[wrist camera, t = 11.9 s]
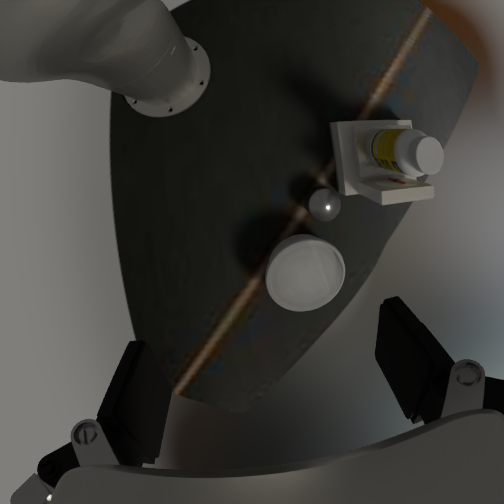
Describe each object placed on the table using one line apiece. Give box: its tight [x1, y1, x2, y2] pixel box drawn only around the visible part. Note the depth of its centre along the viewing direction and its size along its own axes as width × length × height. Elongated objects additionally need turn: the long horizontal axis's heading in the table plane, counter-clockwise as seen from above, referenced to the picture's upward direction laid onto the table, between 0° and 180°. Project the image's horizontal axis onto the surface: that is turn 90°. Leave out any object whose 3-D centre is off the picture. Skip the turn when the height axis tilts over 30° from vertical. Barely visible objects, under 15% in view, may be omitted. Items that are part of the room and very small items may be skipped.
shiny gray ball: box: [305, 186, 341, 221], centre depth 38 cm, size 4×4×3 cm
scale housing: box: [329, 120, 434, 205], centre depth 32 cm, size 10×12×10 cm
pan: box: [352, 125, 411, 177], centre depth 32 cm, size 7×9×2 cm
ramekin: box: [265, 234, 345, 311], centre depth 40 cm, size 11×11×5 cm
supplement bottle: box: [370, 129, 444, 177], centre depth 27 cm, size 5×5×10 cm
